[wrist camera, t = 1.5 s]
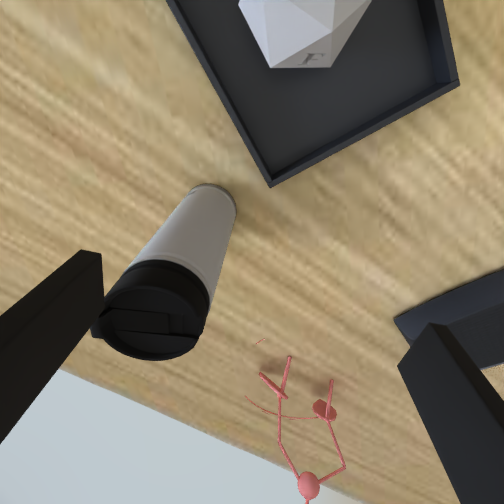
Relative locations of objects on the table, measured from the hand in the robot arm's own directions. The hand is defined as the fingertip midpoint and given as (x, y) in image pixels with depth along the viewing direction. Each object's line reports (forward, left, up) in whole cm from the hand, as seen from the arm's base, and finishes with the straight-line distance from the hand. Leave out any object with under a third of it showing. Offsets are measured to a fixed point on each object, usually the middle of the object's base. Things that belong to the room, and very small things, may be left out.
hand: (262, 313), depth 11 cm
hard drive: (+31, +16, -23) cm, 42 cm away
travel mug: (0, -8, -23) cm, 24 cm away
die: (-11, +9, -22) cm, 26 cm away
